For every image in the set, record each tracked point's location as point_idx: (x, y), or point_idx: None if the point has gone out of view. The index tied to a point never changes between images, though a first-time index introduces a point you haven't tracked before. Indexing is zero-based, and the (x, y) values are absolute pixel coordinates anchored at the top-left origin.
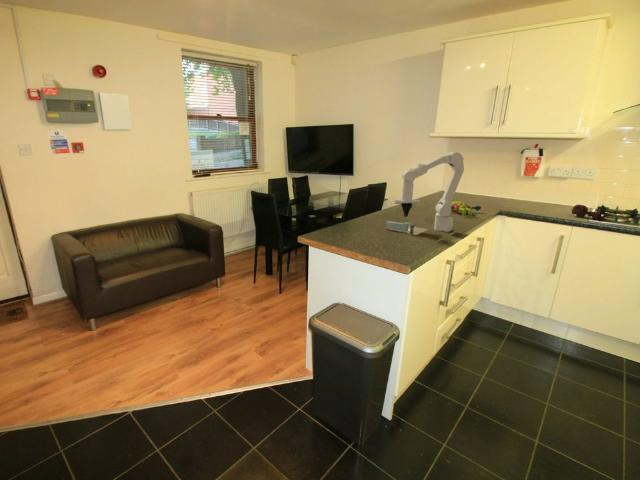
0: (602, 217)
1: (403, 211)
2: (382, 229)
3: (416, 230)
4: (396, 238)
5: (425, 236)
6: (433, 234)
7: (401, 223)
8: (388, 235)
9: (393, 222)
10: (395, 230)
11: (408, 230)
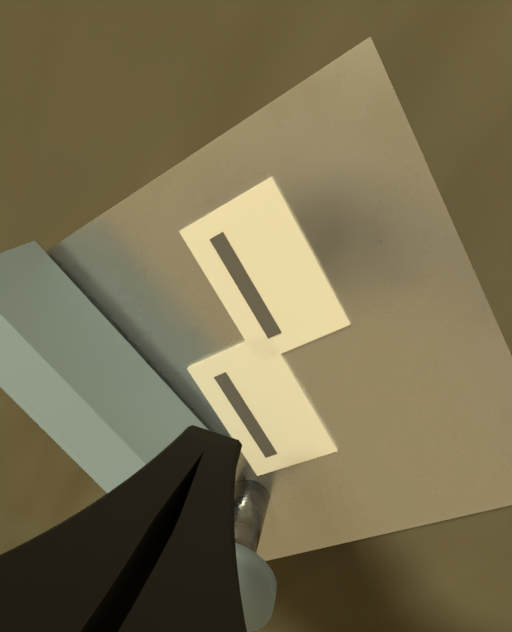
0: None
1: (125, 489)
2: (7, 174)
3: (367, 460)
4: (54, 503)
5: (351, 580)
6: (496, 579)
7: (114, 468)
8: (11, 409)
9: (18, 378)
10: None
11: (255, 435)
